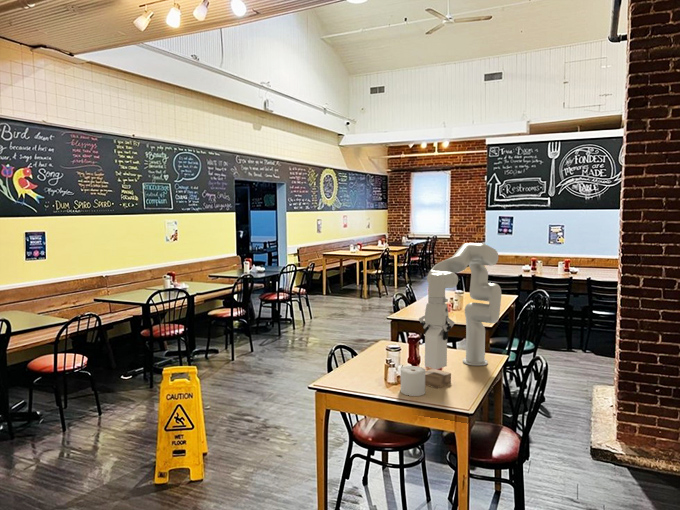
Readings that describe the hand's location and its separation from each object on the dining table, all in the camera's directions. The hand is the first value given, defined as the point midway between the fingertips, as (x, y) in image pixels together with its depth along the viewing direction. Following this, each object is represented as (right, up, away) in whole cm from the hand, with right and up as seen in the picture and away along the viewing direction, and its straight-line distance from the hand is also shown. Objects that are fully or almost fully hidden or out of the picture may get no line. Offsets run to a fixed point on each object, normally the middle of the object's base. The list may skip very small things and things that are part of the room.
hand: (436, 338), depth 226 cm
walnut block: (0, -21, +2) cm, 21 cm away
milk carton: (0, -13, +1) cm, 13 cm away
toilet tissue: (-13, -22, -10) cm, 27 cm away
